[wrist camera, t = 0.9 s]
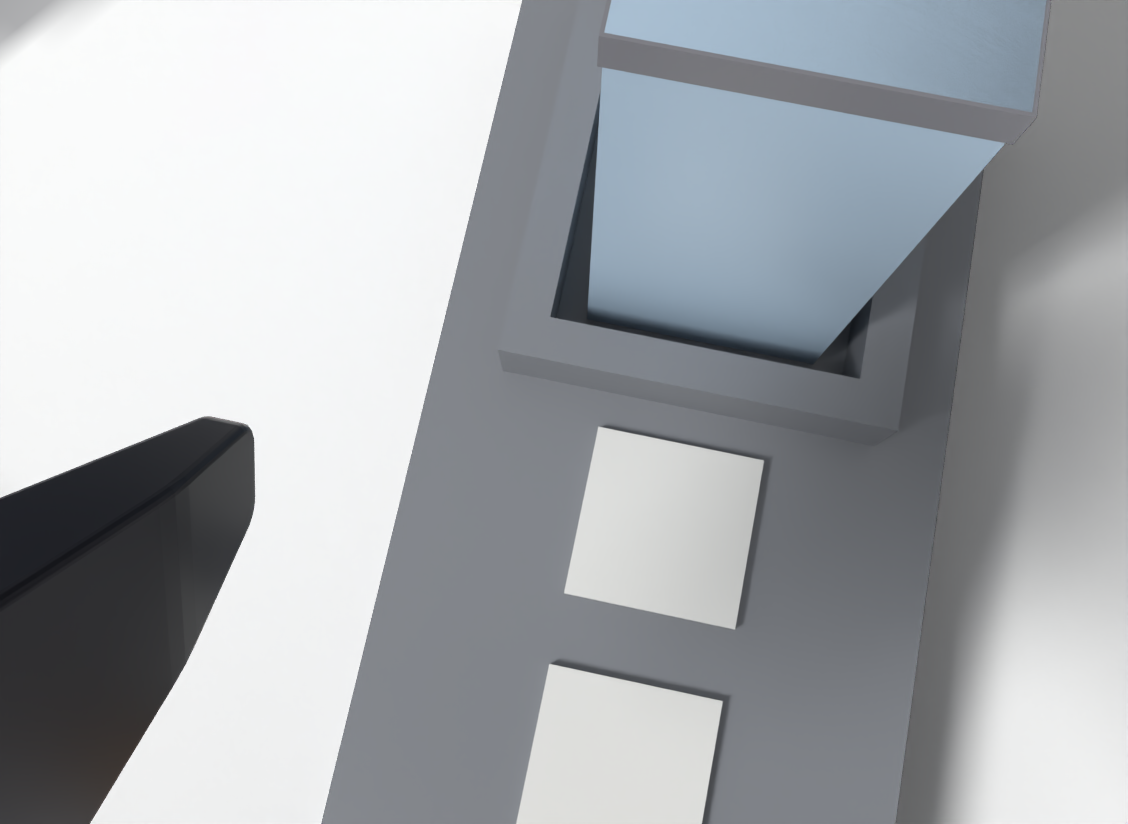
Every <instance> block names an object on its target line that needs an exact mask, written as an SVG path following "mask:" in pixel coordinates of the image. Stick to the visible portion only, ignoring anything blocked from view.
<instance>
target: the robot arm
mask: <svg viewBox="0 0 1128 824" xmlns="http://www.w3.org/2000/svg"><path fill="white" fill-rule="evenodd" d="M254 504H255V466H254V437H253V434H252V430H251V429H250V428H249V427H248V426H247V425H246V424H244V423H239V422H235V421H230V420H225V419H220V418H215V417H210V416H206V417H201V418H198V419H196V420H193V421H191V422H188V423H186V424H183V425H181V426H178V427H176V428H173V429H171V430H168V431H166V432H163V433H161V434H158V435H156V436H153V437H151V438H148V439H146V440H144V441H141V442H139V443H136V444H134V445H131V446H129V447H126V448H124V449H121V450H119V451H116V452H114V453H111V454H109V455H106V456H104V457H101V458H99V459H96V460H94V461H91V462H89V463H86V464H84V465H81V466H79V467H76V468H74V469H71V470H69V471H66V472H64V473H61V474H59V475H56V476H54V477H51V478H49V479H46V480H44V481H41V482H39V483H36V484H34V485H31V486H29V487H26V488H24V489H21V490H19V491H16V492H14V493H11V494H9V495H6V496H4V497H1V498H0V824H90V823H91V821H92V819H93V818H94V816H95V814H96V813H97V811H98V809H99V808H100V806H101V804H102V803H103V801H104V799H105V798H106V796H107V795H108V793H109V791H110V790H111V788H112V786H113V785H114V783H115V781H116V780H117V778H118V776H119V775H120V773H121V771H122V770H123V768H124V766H125V765H126V763H127V762H128V760H129V758H130V757H131V755H132V753H133V752H134V750H135V748H136V747H137V745H138V743H139V742H140V740H141V738H142V737H143V735H144V733H145V732H146V730H147V729H148V727H149V725H150V724H151V722H152V720H153V719H154V717H155V715H156V714H157V712H158V710H159V709H160V707H161V705H162V704H163V702H164V700H165V699H166V697H167V696H168V694H169V692H170V691H171V689H172V687H173V686H174V684H175V682H176V680H177V678H178V677H179V675H180V673H181V671H182V670H183V668H184V666H185V664H186V662H187V660H188V658H189V656H190V654H191V652H192V650H193V648H194V646H195V644H196V642H197V640H198V637H199V635H200V633H201V631H202V629H203V626H204V624H205V622H206V620H207V618H208V615H209V613H210V611H211V609H212V606H213V604H214V602H215V600H216V598H217V595H218V593H219V591H220V589H221V587H222V584H223V582H224V580H225V578H226V576H227V573H228V571H229V569H230V567H231V565H232V562H233V560H234V558H235V556H236V553H237V551H238V549H239V547H240V545H241V542H242V540H243V538H244V536H245V534H246V531H247V529H248V527H249V524H250V522H251V518H252V515H253V510H254Z"/></svg>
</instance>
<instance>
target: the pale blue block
mask: <svg viewBox="0 0 1128 824" xmlns="http://www.w3.org/2000/svg"><path fill="white" fill-rule="evenodd" d="M1050 6H1051V0H607V1H606V5H605V10H604V14H603V19H602V23H601V28H600V32H599V38H598V58H597V66H598V67H602V78H601V95H600V111H599V128H598V145H597V161H596V178H595V195H594V211H593V228H592V245H591V261H590V278H589V295H588V311H587V319H589V320H594V321H599V322H604V323H609V324H614V325H619V326H624V327H629V328H634V329H639V330H644V331H649V332H654V333H659V334H664V335H669V336H674V337H679V338H684V339H689V340H694V341H699V342H704V343H709V344H714V345H719V346H724V347H729V348H734V349H739V350H744V351H749V352H754V353H759V354H764V355H769V356H774V357H779V358H784V359H789V360H794V361H799V362H804V363H809V364H814V363H815V361H816V360H817V359H818V358H819V357H820V356H821V355H822V353H823V352H824V351H825V350H826V349H827V348H828V347H829V345H830V344H831V343H832V342H833V341H834V340H835V338H836V337H837V336H838V335H839V334H840V333H841V332H842V330H843V329H844V328H845V327H846V326H847V325H848V324H849V322H850V321H851V320H852V319H853V318H854V317H855V316H856V314H857V313H858V312H859V311H860V310H861V309H862V307H863V306H864V305H865V304H866V303H867V302H868V301H869V299H870V298H871V297H872V296H873V295H874V294H875V293H876V291H877V290H878V289H879V288H880V287H881V286H882V285H883V283H884V282H885V281H886V280H887V279H888V278H889V276H890V275H891V274H892V273H893V272H894V271H895V270H896V268H897V267H898V266H899V265H900V264H901V263H902V262H903V260H904V259H905V258H906V257H907V256H908V255H909V254H910V252H911V251H912V250H913V249H914V248H915V247H916V245H917V244H918V243H919V242H920V241H921V240H922V239H923V237H924V236H925V235H926V234H927V233H928V232H929V231H930V229H931V228H932V227H933V226H934V225H935V224H936V222H937V221H938V220H939V219H940V218H941V217H942V216H943V214H944V213H945V212H946V211H947V210H948V209H949V208H950V206H951V205H952V204H953V203H954V202H955V201H956V200H957V198H958V197H959V196H960V195H961V194H962V193H963V191H964V190H965V189H966V188H967V187H968V186H969V185H970V183H971V182H972V181H973V180H974V179H975V178H976V177H977V175H978V174H979V173H980V172H981V171H982V170H983V169H984V167H985V166H986V165H987V164H988V163H989V162H990V160H991V159H992V158H993V157H994V156H995V155H996V154H997V152H998V151H999V150H1000V149H1001V148H1002V147H1003V146H1004V144H1005V143H1007V144H1012V145H1013V144H1014V143H1015V142H1016V140H1017V139H1018V138H1019V137H1020V136H1021V135H1022V134H1023V133H1024V131H1025V130H1026V129H1027V128H1028V127H1029V126H1030V125H1031V123H1032V122H1033V121H1034V120H1035V119H1036V118H1037V111H1038V103H1039V95H1040V87H1041V79H1042V71H1043V63H1044V55H1045V47H1046V38H1047V30H1048V22H1049V14H1050Z"/></svg>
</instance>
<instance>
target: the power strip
mask: <svg viewBox="0 0 1128 824" xmlns="http://www.w3.org/2000/svg"><path fill="white" fill-rule="evenodd" d="M606 1H607V0H522V4H521V8H520V12H519V16H518V21H517V25H516V29H515V33H514V37H513V41H512V45H511V49H510V53H509V57H508V62H507V66H506V70H505V74H504V78H503V82H502V86H501V90H500V94H499V98H498V102H497V107H496V111H495V115H494V119H493V123H492V127H491V131H490V135H489V139H488V143H487V147H486V152H485V156H484V160H483V164H482V168H481V172H480V176H479V180H478V184H477V188H476V193H475V197H474V201H473V205H472V209H471V213H470V217H469V221H468V225H467V229H466V233H465V238H464V242H463V246H462V250H461V254H460V258H459V262H458V266H457V270H456V274H455V279H454V283H453V287H452V291H451V295H450V299H449V303H448V307H447V311H446V315H445V319H444V324H443V328H442V332H441V336H440V340H439V344H438V348H437V352H436V356H435V360H434V364H433V369H432V373H431V377H430V381H429V385H428V389H427V393H426V397H425V401H424V405H423V410H422V414H421V418H420V422H419V426H418V430H417V434H416V438H415V442H414V446H413V450H412V455H411V459H410V463H409V467H408V471H407V475H406V479H405V483H404V487H403V491H402V495H401V500H400V504H399V508H398V512H397V516H396V520H395V524H394V528H393V532H392V536H391V541H390V545H389V549H388V553H387V557H386V561H385V565H384V569H383V573H382V577H381V581H380V586H379V590H378V594H377V598H376V602H375V606H374V610H373V614H372V618H371V622H370V627H369V631H368V635H367V639H366V643H365V647H364V651H363V655H362V659H361V663H360V667H359V672H358V676H357V680H356V684H355V688H354V692H353V696H352V700H351V704H350V708H349V712H348V717H347V721H346V725H345V729H344V733H343V737H342V741H341V745H340V749H339V753H338V758H337V762H336V766H335V770H334V774H333V778H332V782H331V786H330V790H329V794H328V798H327V803H326V807H325V811H324V815H323V819H322V823H321V824H896V816H897V809H898V802H899V794H900V787H901V779H902V772H903V764H904V757H905V750H906V742H907V735H908V727H909V720H910V712H911V705H912V698H913V690H914V683H915V675H916V668H917V660H918V653H919V646H920V638H921V631H922V623H923V616H924V608H925V601H926V594H927V586H928V579H929V571H930V564H931V556H932V549H933V542H934V534H935V527H936V519H937V512H938V504H939V497H940V490H941V482H942V475H943V467H944V460H945V452H946V445H947V438H948V430H949V423H950V415H951V408H952V400H953V393H954V385H955V378H956V371H957V363H958V356H959V348H960V341H961V333H962V326H963V319H964V311H965V304H966V296H967V289H968V281H969V274H970V267H971V259H972V252H973V244H974V237H975V229H976V222H977V215H978V207H979V200H980V192H981V185H982V177H983V170H984V169H983V170H982V171H981V172H980V173H979V174H978V175H977V177H976V178H975V179H974V180H973V181H972V182H971V183H970V185H969V186H968V187H967V188H966V189H965V190H964V191H963V193H962V194H961V195H960V196H959V197H958V198H957V200H956V201H955V202H954V203H953V204H952V205H951V206H950V208H949V209H948V210H947V211H946V212H945V213H944V214H943V216H942V217H941V218H940V219H939V220H938V221H937V222H936V224H935V225H934V226H933V227H932V228H931V229H930V231H929V232H928V233H927V234H926V235H925V236H924V237H923V239H922V240H921V241H920V242H919V243H918V244H917V245H916V247H915V248H914V249H913V250H912V251H911V252H910V254H909V255H908V256H907V257H906V258H905V259H904V260H903V262H902V263H901V264H900V265H899V266H898V267H897V268H896V270H895V271H894V272H893V273H892V274H891V275H890V276H889V278H888V279H887V280H886V281H885V282H884V283H883V285H882V286H881V287H880V288H879V289H878V290H877V291H876V293H875V294H874V295H873V296H872V297H871V298H870V299H869V301H868V302H867V303H866V304H865V305H864V306H863V307H862V309H861V310H860V311H859V312H858V313H857V314H856V316H855V317H854V318H853V319H852V320H851V321H850V322H849V324H848V325H847V326H846V327H845V328H844V329H843V330H842V332H841V333H840V334H839V335H838V336H837V337H836V338H835V340H834V341H833V342H832V343H831V344H830V345H829V347H828V348H827V349H826V350H825V351H824V352H823V353H822V355H821V356H820V357H819V358H818V359H817V360H816V361H815V363H814V364H809V363H804V362H799V361H794V360H789V359H784V358H779V357H774V356H769V355H764V354H759V353H754V352H749V351H744V350H739V349H734V348H729V347H724V346H719V345H714V344H709V343H704V342H699V341H694V340H689V339H684V338H679V337H674V336H669V335H664V334H659V333H654V332H649V331H644V330H639V329H634V328H629V327H624V326H619V325H614V324H609V323H604V322H599V321H594V320H589V319H587V311H588V295H589V278H590V261H591V245H592V228H593V211H594V195H595V178H596V161H597V145H598V128H599V111H600V95H601V78H602V67H598V66H597V58H598V38H599V32H600V28H601V23H602V19H603V14H604V10H605V5H606Z"/></svg>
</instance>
